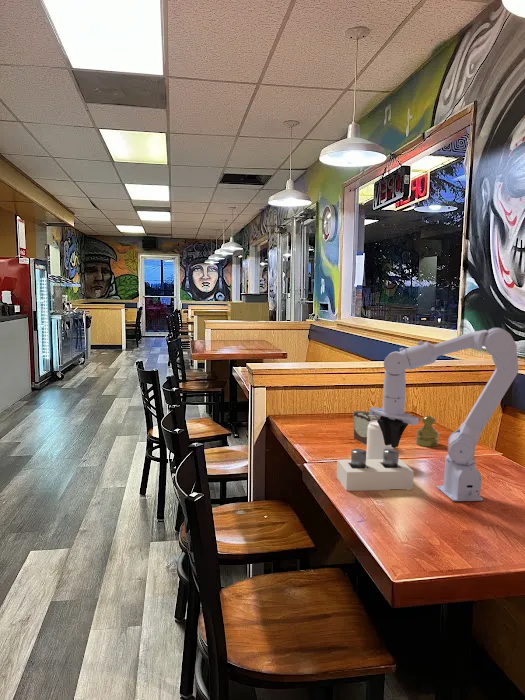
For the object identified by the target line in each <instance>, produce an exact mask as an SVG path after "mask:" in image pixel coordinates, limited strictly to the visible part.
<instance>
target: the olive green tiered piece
mask: <svg viewBox="0 0 525 700" xmlns="http://www.w3.org/2000/svg"><path fill="white" fill-rule="evenodd" d="M420 421H422V423H423V425H422V427H420V428H419V429H417V430H416V437H415V438H416V439H415V443H416V444H417V445H419V446H421V447H424V446H425V448H435V446H436V447H437V446H439V436H440V433H439V431H438V430H436V429H435V428H434V426H433V425H434V423H436V422H437V419H436V418H434V417H433V416H431V415H425V416H423V417H421V418H420Z"/></svg>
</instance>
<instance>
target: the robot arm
mask: <svg viewBox="0 0 525 700" xmlns="http://www.w3.org/2000/svg"><path fill="white" fill-rule="evenodd" d="M517 346H518V345H517V344H516V342H515V339H514V338H513V336H512V334H511V333H509V332H508V331H507V330H505V329H504V328H502V327H491V328H490V329H481V330H476V331H472V332H469V333H465V334H462V335H459V336H457V337H454V338H451V339H448V340H444V341H442V342H439V343H435V344H433V343H430V342H429V341H425V342H423V340H421V341H418V342H417V344H416V345H413V346H410V347H406V348H404V347H401V348H399V351H392V352H390V353H389V354H388V355H386V357H385V358H384V361H383V368H384V370H385V371H384V378H383V387H382V388H383V389H382V408H381V407H376V406H374V407H373V406H372V407H369V411H368V412H369V415H376V416H379V418H380V419H378V420H377V422H378V424H379V426H380V428H381V431H382V434H383V438H384V443H385V445H386V446H387V445H391V446H392V447H393V448H394V449H395V448H398V447H399V446H400V445H399V444H400V441H401V439H402V436H403V434H404V432H405V431H406V428H407V426H408V425H410V426H418V425H419V419H420V418H419V416H414V415H412V414H409V413H407V412H405V404H406V403H405V402H406V386H407V385H406V383H407V380H406V370H410V371H411V370H414V369H417V368H420V367H421V368H422V367H424V366H428V365H430V364H431V365H432V364H434V363H436V361H437V359H438V357H440V356H444V355H449V354H452V353H454V352H459V351H462V350H467V349H473V350H477V351H483V347H484V348H485V350H486V351H487V352H488V354H489V355H490V356H491V358H492V361H493V364H494V367H495V369H494V370H493V373H492V374H491V376H490V378H489V380H488V381H487V383H486V384H485V386H484V388H483V390H481V392H480V394H479V396H478V398H477V400H476V401H475V402H474V405H473V406H472V408H471V409H470V411H469V413H468V414H467V416H466V418H465V419H464V421H462V423H461V424H460V426H459V427H458V429H456V430H455V431H453V432H452V433H450V435H449V437H448V439H447V443H448V446H447V454H445V459H444V460H445V461H444V472H443V475H444V476H443V484H441V485H437V486H436V488H437V489H438V490H439V491H441V492H442V493H443V494H444V495H446V496H447V497H448V498H449V499H451V501H453V502H476V501H478V502H479V501H482V502H483V500H484V498H483V497H481V487H482V475H481V472H480V471H479V469H477V467H476V458H475V457H474V456H475V454H476V453H475V451H476V449H475V448H476V446H477V444H478V443H479V440H480V438H481V434H482V432H483V430H484V429H485V427H486V426H487V424H488V422H489V421H490V419H491V418H492V416H493V414H494V412H495V411H496V409H497V407H498V406H499V404H500V403H501V401H502V399H503V398H504V396H505V394H506V393H507V391H508V390H509V388H510V387H511V385H512V383H513V382H514V379H515V378H516V377H517V375H518V373H519V372H520V371H519V362H518V361H519V360H518V347H517Z"/></svg>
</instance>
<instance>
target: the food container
mask: <svg viewBox="0 0 525 700" xmlns="http://www.w3.org/2000/svg"><path fill="white" fill-rule="evenodd" d="M352 418H353V419H352V420H353V440H354V439H355V440H354V441H356V440H357V441H356V442H358V441H359V442H358V443H360V442H361V443H360V444H362V445H364V446H366V447H367V428H368V425H369V422H370V421H374V420H378V419H380V416H376V415H369V411H365V410H364V411H362V410H353V411H352Z"/></svg>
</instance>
